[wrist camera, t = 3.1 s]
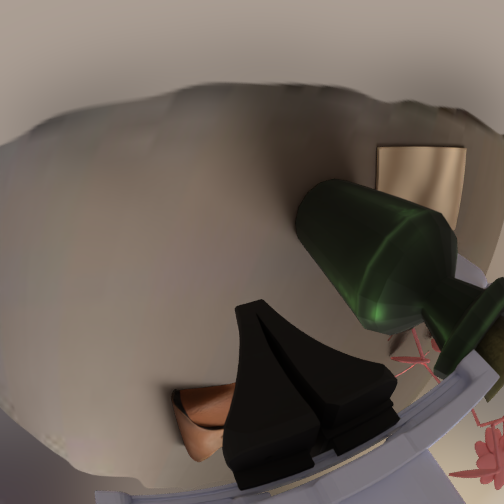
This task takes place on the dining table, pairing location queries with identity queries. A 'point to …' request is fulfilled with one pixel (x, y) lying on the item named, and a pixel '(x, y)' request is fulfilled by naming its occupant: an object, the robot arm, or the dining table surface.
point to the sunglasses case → (202, 417)
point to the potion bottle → (402, 271)
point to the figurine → (490, 453)
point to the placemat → (424, 176)
